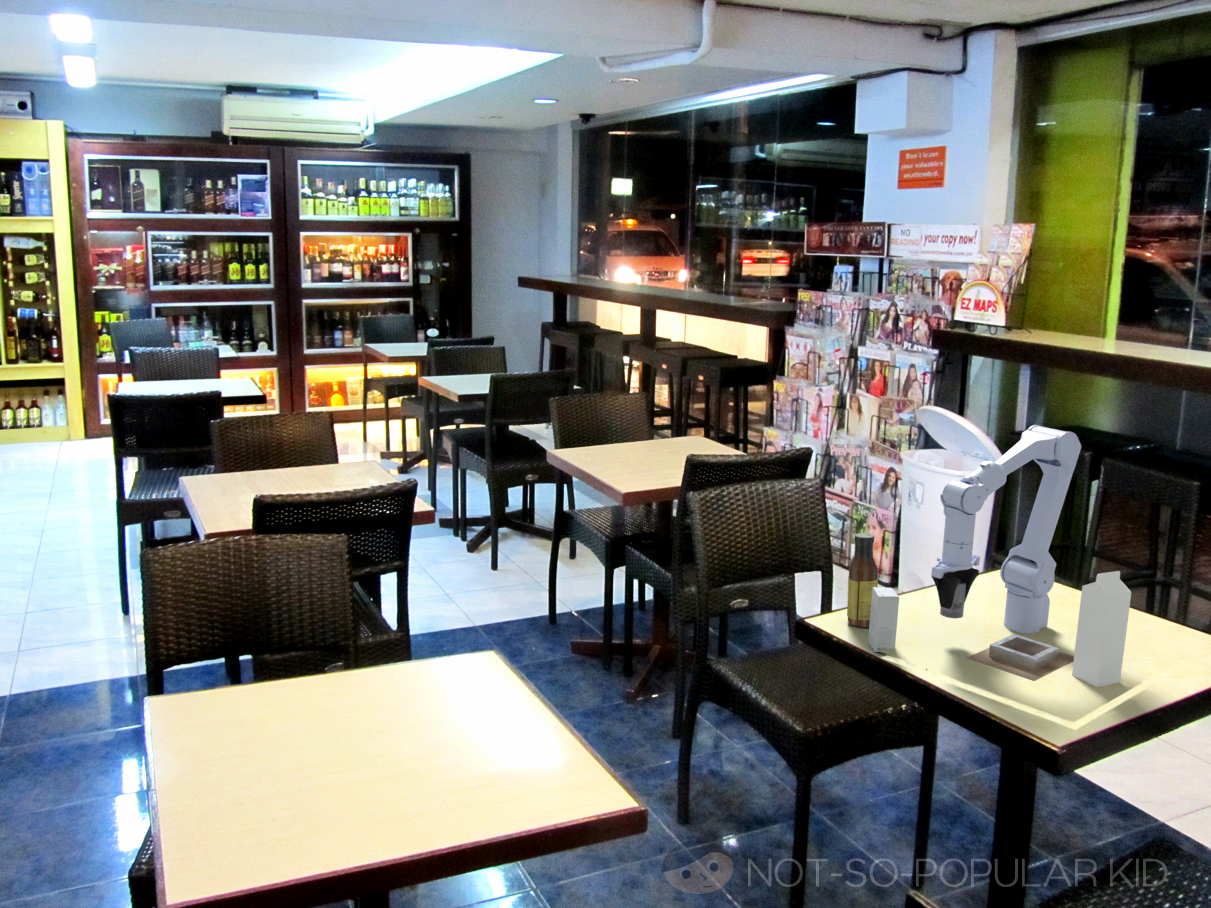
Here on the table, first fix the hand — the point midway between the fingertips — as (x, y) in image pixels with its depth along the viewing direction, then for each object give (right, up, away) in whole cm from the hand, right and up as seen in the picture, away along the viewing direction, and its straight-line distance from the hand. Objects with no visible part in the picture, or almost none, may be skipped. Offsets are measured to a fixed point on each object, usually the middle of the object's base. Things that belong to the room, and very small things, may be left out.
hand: (952, 604), depth 215 cm
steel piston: (0, -2, 0) cm, 2 cm away
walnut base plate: (+12, -11, -6) cm, 17 cm away
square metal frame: (+12, -10, -6) cm, 17 cm away
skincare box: (-15, -9, 0) cm, 17 cm away
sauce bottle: (-16, -6, +13) cm, 21 cm away
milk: (+22, -13, -15) cm, 30 cm away
